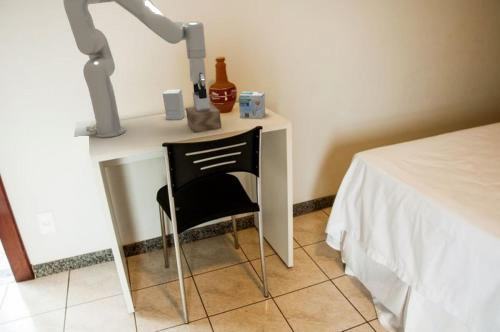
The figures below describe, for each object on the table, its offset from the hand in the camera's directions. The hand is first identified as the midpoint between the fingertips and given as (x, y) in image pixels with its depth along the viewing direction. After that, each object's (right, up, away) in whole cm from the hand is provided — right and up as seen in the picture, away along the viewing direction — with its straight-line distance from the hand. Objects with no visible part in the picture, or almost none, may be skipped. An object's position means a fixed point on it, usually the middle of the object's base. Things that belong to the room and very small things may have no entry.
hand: (200, 95), depth 168 cm
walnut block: (+1, -13, +6) cm, 14 cm away
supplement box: (-14, -7, +21) cm, 26 cm away
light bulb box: (+22, -7, +16) cm, 28 cm away
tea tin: (0, -5, +2) cm, 6 cm away
